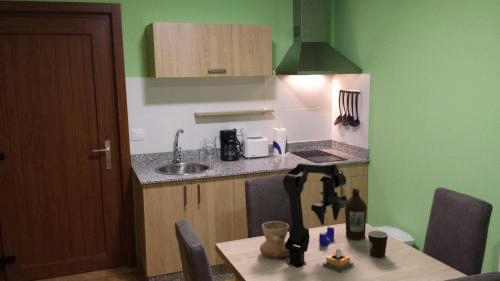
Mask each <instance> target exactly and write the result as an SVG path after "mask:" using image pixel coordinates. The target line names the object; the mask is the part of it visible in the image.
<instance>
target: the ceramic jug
mask: <svg viewBox="0 0 500 281" xmlns="http://www.w3.org/2000/svg"><path fill="white" fill-rule="evenodd" d="M261 227H262V232H263V236H264V238H265V241H264V242H262V243H261V245H260V246H259V251H260V253H261V254H262V255H263V256H265V258H266V257H267V258H269V259H270V258H271V259H282V258H285V257H286V256H289V251H290V250H288V249H285V244H286V242H287V240H286V238H287V235H288V234H289V229H290V225H289V224H288V223H287V222H283V221H280V220H279V221H278V220H272V221H267V222H264V223H262V225H261Z"/></svg>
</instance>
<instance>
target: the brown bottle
mask: <svg viewBox="0 0 500 281" xmlns="http://www.w3.org/2000/svg"><path fill="white" fill-rule="evenodd" d="M351 192H352V193H351V194H352V195H351V197H350V198H348V199H347V204H346V205H345V206H344V218H345V221H344V222H345V238H347V239H348V240H353V241H362V240H364V239H365V238H366V230H367V229H366V227H367V226H366V225H367V224H366V223H367V212H368V211H367V209H368V208H367V204H366V202H365V201H364V200H363V199H362V197H361V196H360V188H359V187H352V191H351Z"/></svg>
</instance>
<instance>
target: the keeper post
mask: <svg viewBox="0 0 500 281" xmlns="http://www.w3.org/2000/svg"><path fill="white" fill-rule="evenodd" d="M341 252H342V251H341V249H339V248H337V249H335V253H336V259H338V260H340V259H341V254H342V253H341ZM322 264H323V265H322V266H323V267H324V268H328V269H330V270H333V271H335V272H338V273H342V272H344V271H346V270H348V269H350V268H352V267H354V262H352V261H350V263H348V264H346V265H344V266H342V267H337V266H334V265H331V264H329V263H326V261H324V262H323V263H322Z"/></svg>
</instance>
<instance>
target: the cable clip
mask: <svg viewBox="0 0 500 281" xmlns="http://www.w3.org/2000/svg"><path fill="white" fill-rule="evenodd" d="M318 236H319V237H318V240H319V246H320V247H327V246H328V245H329V244H330V243H331V242H332V241H333V240H334V239H335V227H333V226H327V228H326V231H325V232H324V233H322V232H320V233H319V234H318Z"/></svg>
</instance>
